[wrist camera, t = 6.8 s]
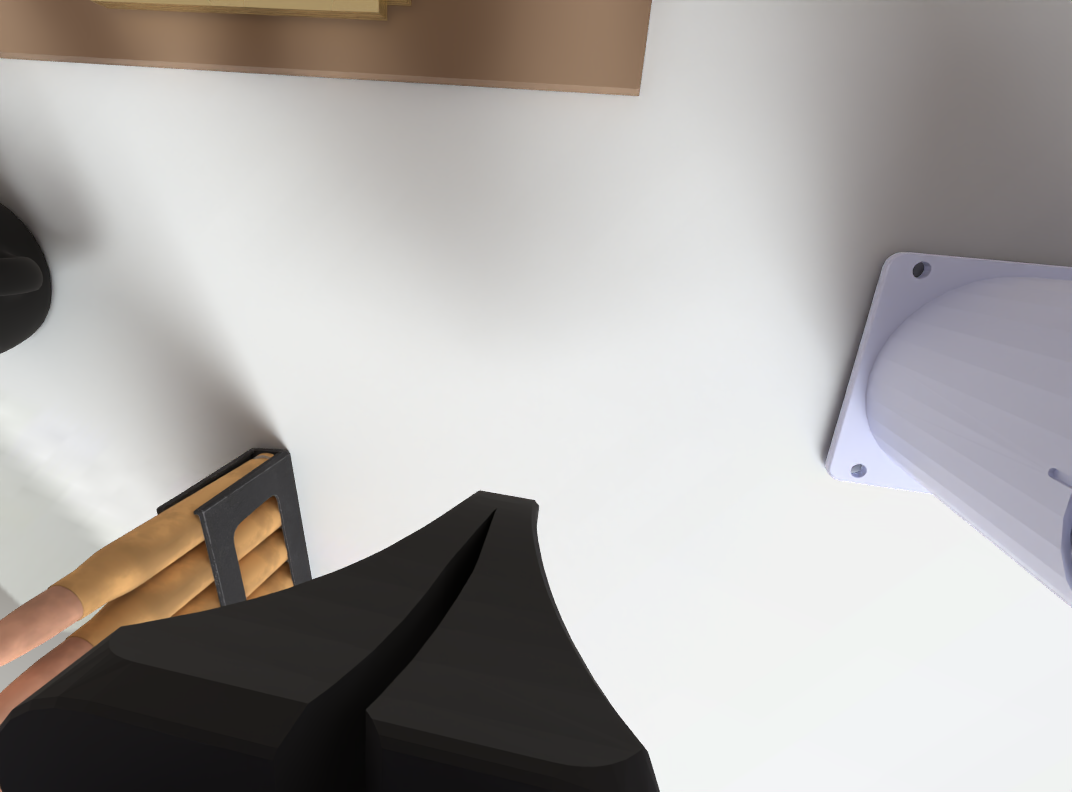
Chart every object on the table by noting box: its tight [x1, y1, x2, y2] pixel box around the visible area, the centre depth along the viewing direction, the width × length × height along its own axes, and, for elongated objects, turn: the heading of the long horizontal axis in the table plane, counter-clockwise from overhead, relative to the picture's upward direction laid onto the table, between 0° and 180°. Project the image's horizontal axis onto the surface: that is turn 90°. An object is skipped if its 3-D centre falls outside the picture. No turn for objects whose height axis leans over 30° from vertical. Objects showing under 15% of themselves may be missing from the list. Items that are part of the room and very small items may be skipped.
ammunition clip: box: [0, 449, 312, 792], centre depth 19 cm, size 11×2×12 cm, turn 1°
